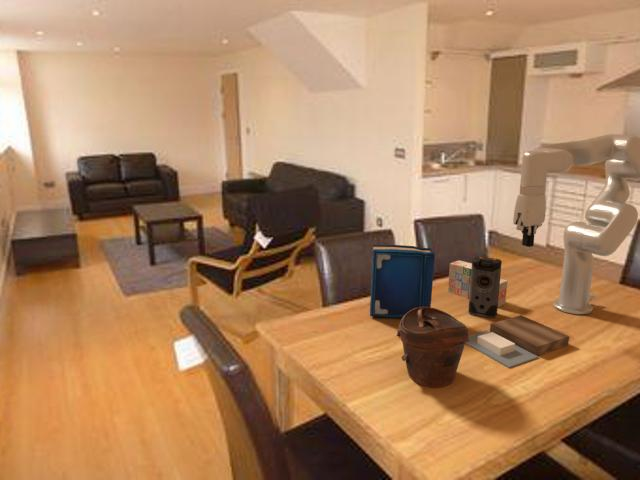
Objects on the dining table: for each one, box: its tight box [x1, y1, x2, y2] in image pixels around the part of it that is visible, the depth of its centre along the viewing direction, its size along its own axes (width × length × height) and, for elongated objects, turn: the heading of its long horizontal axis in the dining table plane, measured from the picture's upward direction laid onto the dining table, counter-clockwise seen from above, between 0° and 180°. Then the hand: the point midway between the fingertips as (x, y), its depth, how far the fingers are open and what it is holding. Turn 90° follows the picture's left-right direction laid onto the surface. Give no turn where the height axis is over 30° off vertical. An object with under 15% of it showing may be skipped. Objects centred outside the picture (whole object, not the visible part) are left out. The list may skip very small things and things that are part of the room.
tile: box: [477, 331, 515, 356], centre depth 148 cm, size 6×9×2 cm, turn 27°
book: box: [369, 244, 436, 319], centre depth 169 cm, size 22×7×25 cm, turn 84°
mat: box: [465, 330, 539, 369], centre depth 148 cm, size 12×20×1 cm, turn 28°
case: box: [396, 307, 470, 388], centre depth 132 cm, size 18×20×18 cm
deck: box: [489, 314, 570, 357], centre depth 154 cm, size 14×18×3 cm
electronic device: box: [468, 256, 502, 319], centre depth 171 cm, size 9×6×20 cm, turn 62°
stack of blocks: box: [448, 260, 508, 308], centre depth 186 cm, size 21×6×12 cm, turn 40°
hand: (527, 245), depth 160 cm, fingers closed
